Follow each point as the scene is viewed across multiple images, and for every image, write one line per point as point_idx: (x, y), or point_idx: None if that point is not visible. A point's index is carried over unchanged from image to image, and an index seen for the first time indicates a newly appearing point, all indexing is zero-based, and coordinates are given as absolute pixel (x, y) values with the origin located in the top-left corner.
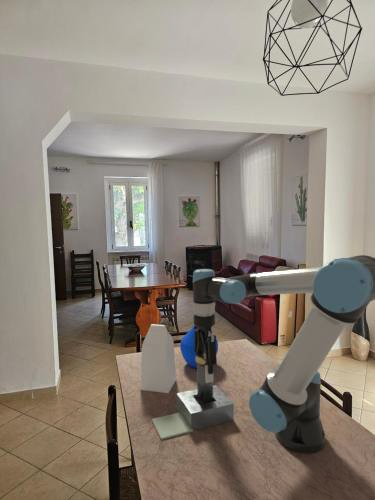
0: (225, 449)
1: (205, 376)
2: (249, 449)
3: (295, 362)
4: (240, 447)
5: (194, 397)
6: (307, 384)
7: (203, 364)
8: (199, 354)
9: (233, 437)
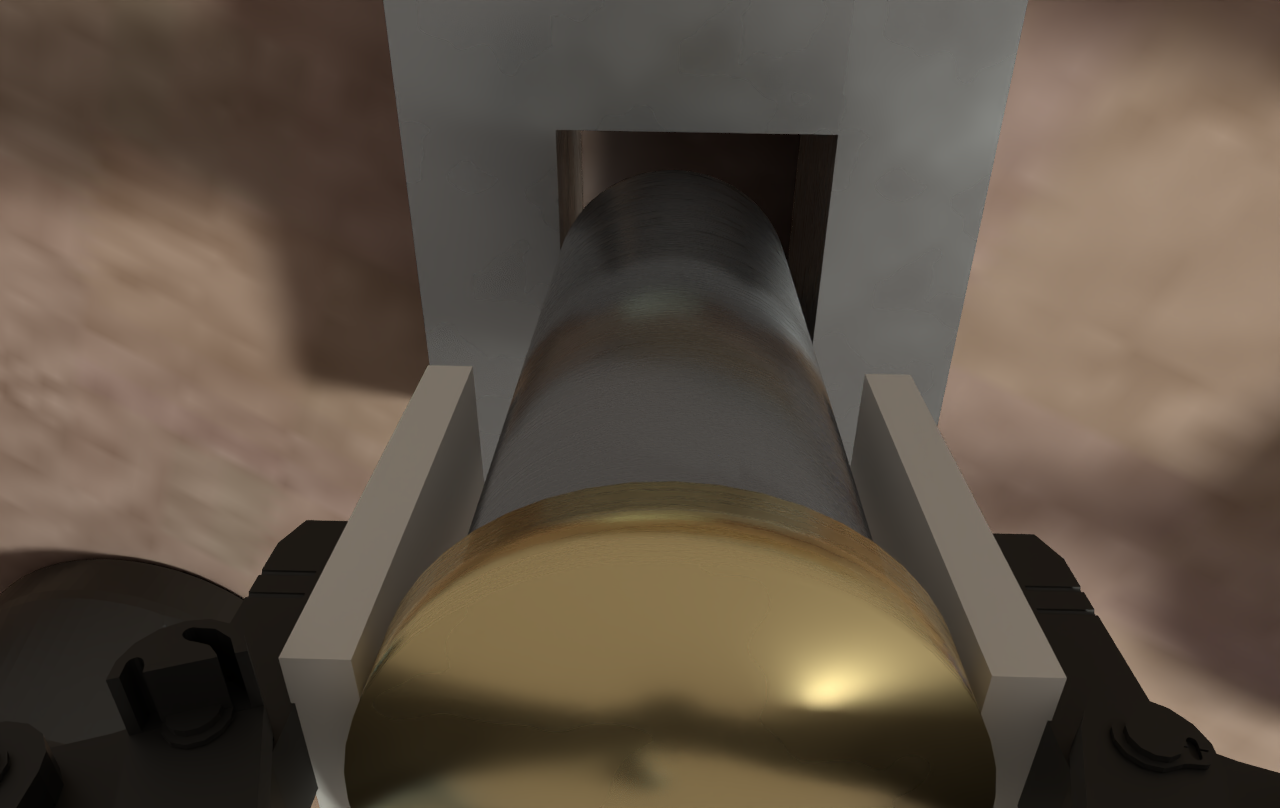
0: (71, 130)
1: (438, 430)
2: (55, 326)
3: None
4: (88, 272)
5: (827, 161)
6: None
7: (404, 605)
8: (1053, 780)
9: (234, 284)
